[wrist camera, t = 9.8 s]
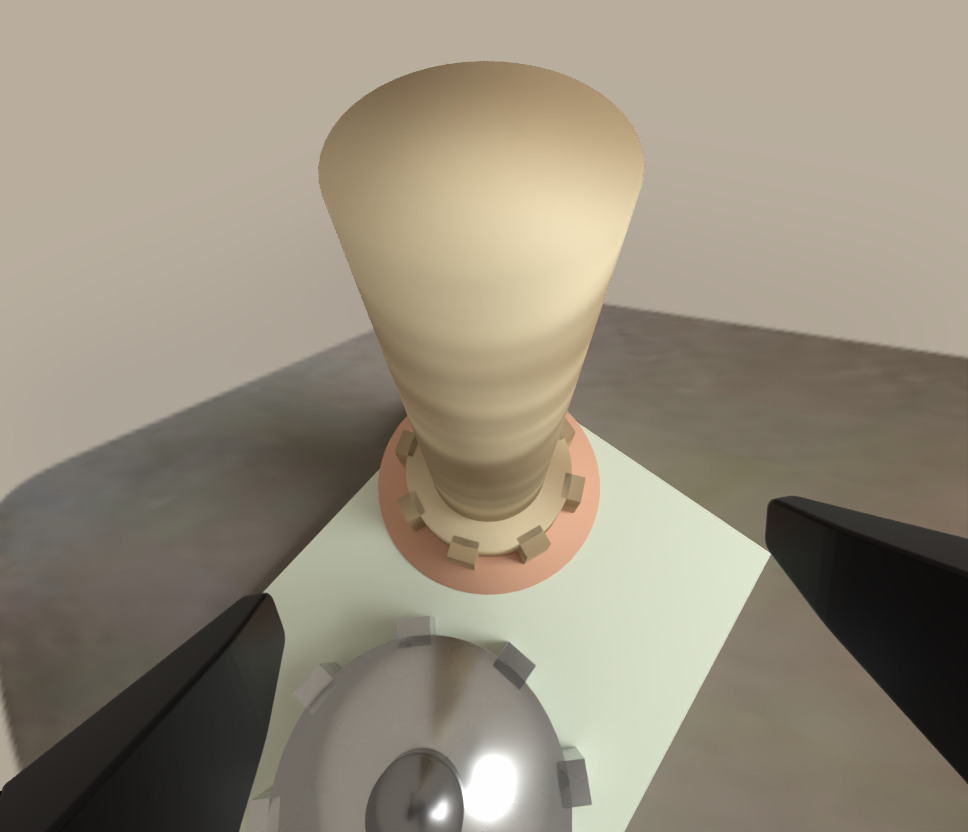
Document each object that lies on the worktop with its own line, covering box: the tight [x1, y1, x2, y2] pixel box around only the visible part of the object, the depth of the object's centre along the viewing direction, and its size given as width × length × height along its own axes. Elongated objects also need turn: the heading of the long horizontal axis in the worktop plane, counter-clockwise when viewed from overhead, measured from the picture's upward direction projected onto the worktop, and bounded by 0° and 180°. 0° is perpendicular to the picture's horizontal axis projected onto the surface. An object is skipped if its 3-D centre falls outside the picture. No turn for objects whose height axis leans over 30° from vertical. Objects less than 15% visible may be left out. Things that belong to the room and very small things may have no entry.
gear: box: [247, 616, 592, 832], centre depth 12 cm, size 9×9×2 cm
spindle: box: [318, 61, 644, 570], centre depth 12 cm, size 7×7×13 cm
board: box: [239, 412, 771, 832], centre depth 16 cm, size 17×14×1 cm
